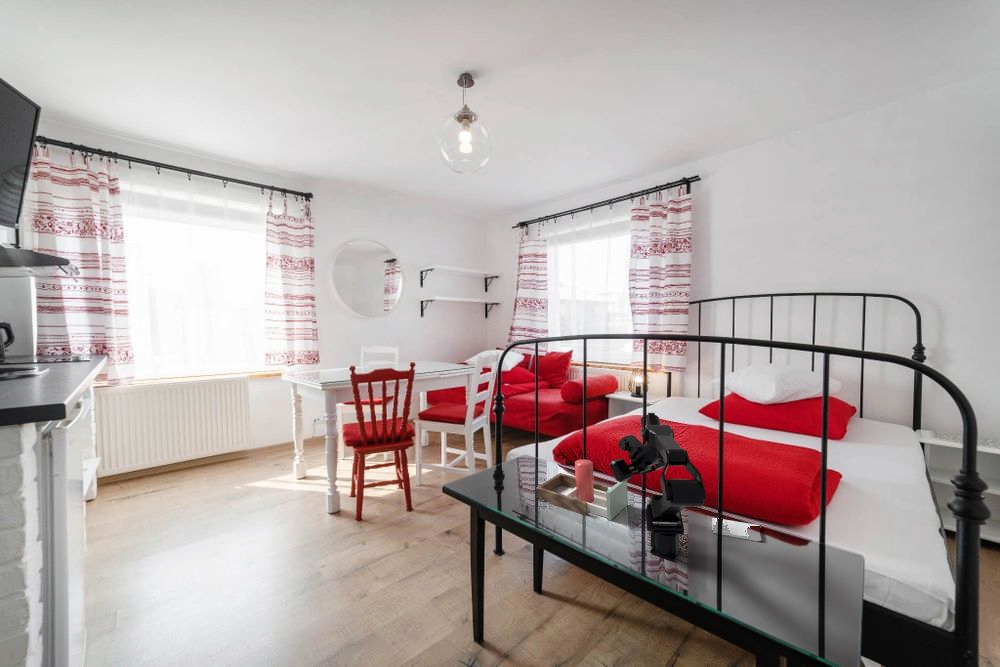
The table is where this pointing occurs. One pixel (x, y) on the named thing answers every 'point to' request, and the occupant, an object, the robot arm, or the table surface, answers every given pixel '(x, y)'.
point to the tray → (607, 500)
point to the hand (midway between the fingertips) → (624, 476)
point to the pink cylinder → (584, 480)
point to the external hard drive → (735, 527)
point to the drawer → (562, 500)
